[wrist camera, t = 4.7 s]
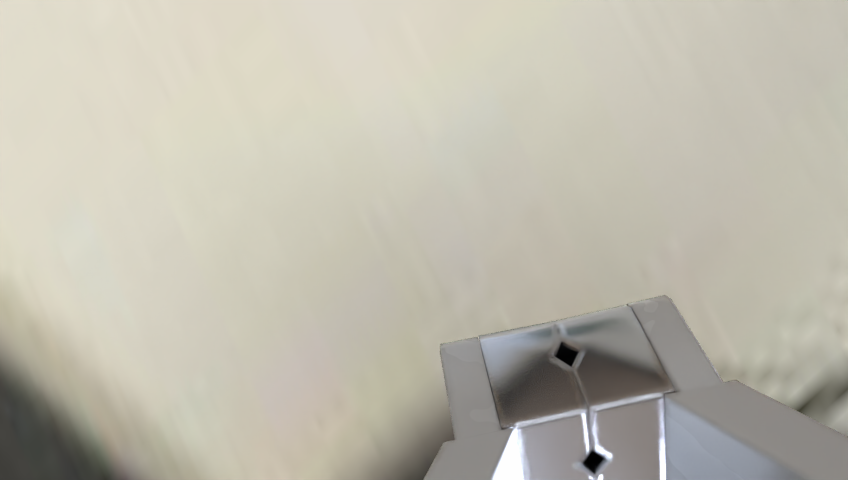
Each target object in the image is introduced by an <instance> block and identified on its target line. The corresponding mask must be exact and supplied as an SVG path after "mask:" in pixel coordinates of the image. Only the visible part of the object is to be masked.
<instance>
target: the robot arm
mask: <svg viewBox="0 0 848 480" xmlns="http://www.w3.org/2000/svg"><path fill="white" fill-rule="evenodd" d="M440 355H441V361H442V367H443V373H444V379H445V384H446V390H447V396H448V402H449V407H450V413H451V419H452V425H453V431H454V436H455V440H452V441H448V442H444V443H443V445H442V447H441V448H440V450H439V452H438V454H437V456H436V458H435V459H434V461H433V463H432V465H431V467H430V469H429V470H428V472H427V474H426V476H425V478H424V480H848V437H847V436H845V435H843V434H841V433H839V432H837V431H835V430H833V429H831V428H829V427H827V426H825V425H823V424H821V423H819V422H817V421H815V420H813V419H812V418H810V417H808V416H806V415H804V414H802V413H800V412H798V411H796V410H794V409H792V408H790V407H788V406H786V405H784V404H782V403H780V402H778V401H776V400H774V399H772V398H770V397H768V396H766V395H764V394H762V393H760V392H758V391H757V390H755V389H753V388H751V387H749V386H747V385H745V384H743V383H741V382H739V381H737V380H733V381H728V382H723V380H722V379H721V377H720V376H719V374H718V372H717V371H716V369H715V368H714V366H713V365H712V363H711V361H710V360H709V358H708V357H707V355H706V353H705V352H704V350H703V349H702V347H701V345H700V344H699V342H698V341H697V339H696V337H695V336H694V334H693V333H692V331H691V330H690V328H689V326H688V325H687V323H686V322H685V320H684V318H683V317H682V315H681V314H680V312H679V310H678V309H677V307H676V306H675V304H674V303H673V301H672V299H671V298H669V297H667V296H666V295H663V296H658V297H654V298H650V299H646V300H642V301H637V302H633V303H629V304H627V306H626V305H623V306H618V307H614V308H609V309H605V310H600V311H596V312H592V313H587V314H583V315H578V316H574V317H569V318H565V319H561V320H556V321H552V322H547V323H542V324H537V325H532V326H527V327H521V328H516V329H511V330H506V331H501V332H496V333H491V334H485V335H480V336H479V340H478V337H474V338H469V339H464V340H458V341H453V342H448V343H443V344H440Z"/></svg>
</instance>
